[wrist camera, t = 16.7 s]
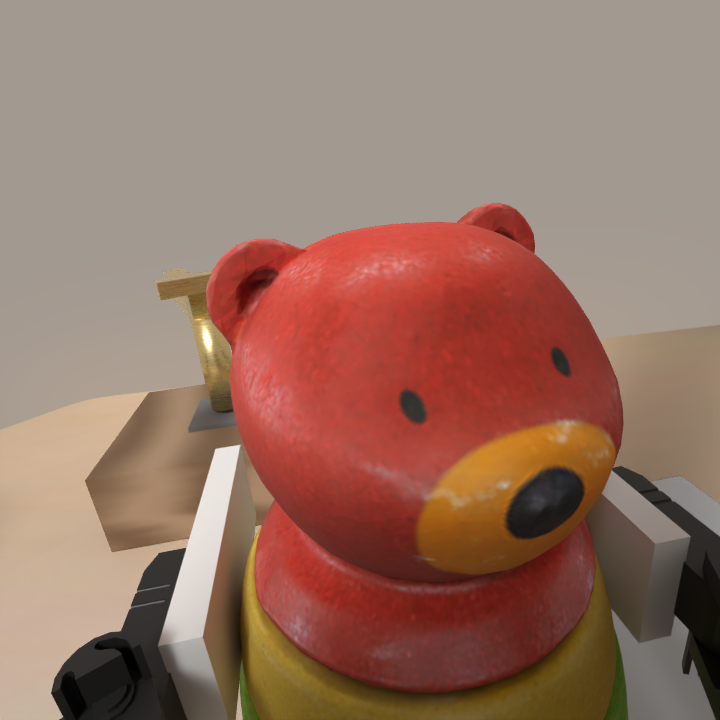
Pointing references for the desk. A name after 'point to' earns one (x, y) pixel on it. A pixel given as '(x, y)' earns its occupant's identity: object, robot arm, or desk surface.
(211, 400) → the gold piece
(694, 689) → the mat
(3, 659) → the desk surface
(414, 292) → the stacking bear
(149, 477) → the lock block
